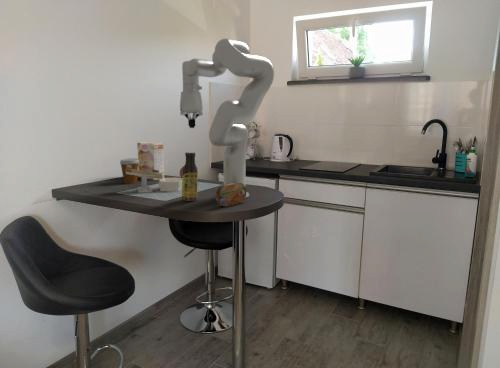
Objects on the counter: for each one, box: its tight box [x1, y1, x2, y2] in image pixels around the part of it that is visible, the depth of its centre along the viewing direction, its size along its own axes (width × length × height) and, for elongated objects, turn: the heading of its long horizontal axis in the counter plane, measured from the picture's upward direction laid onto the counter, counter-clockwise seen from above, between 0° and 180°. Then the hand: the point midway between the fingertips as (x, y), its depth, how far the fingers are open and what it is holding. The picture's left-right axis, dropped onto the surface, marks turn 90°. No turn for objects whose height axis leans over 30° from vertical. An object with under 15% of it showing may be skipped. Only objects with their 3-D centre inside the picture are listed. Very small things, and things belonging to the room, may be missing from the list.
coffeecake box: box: [137, 141, 165, 181], centre depth 205 cm, size 15×7×20 cm, turn 50°
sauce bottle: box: [181, 151, 199, 202], centre depth 151 cm, size 6×6×20 cm
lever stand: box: [136, 174, 153, 194], centre depth 170 cm, size 9×6×8 cm, turn 21°
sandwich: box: [215, 183, 247, 208], centre depth 146 cm, size 15×3×8 cm, turn 137°
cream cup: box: [158, 177, 182, 192], centre depth 175 cm, size 11×11×4 cm
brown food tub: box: [119, 158, 139, 184], centre depth 190 cm, size 10×10×12 cm
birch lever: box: [126, 165, 163, 180], centre depth 173 cm, size 13×16×3 cm
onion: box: [179, 165, 199, 178], centre depth 193 cm, size 10×9×10 cm
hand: (191, 127), depth 178 cm, fingers closed
